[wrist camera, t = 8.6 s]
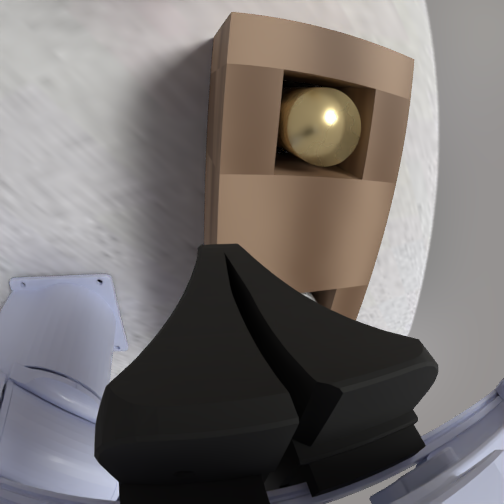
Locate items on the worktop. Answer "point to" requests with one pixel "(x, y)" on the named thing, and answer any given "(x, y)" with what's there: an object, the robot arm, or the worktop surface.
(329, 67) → the walnut peg board
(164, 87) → the worktop surface
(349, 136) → the brass peg
